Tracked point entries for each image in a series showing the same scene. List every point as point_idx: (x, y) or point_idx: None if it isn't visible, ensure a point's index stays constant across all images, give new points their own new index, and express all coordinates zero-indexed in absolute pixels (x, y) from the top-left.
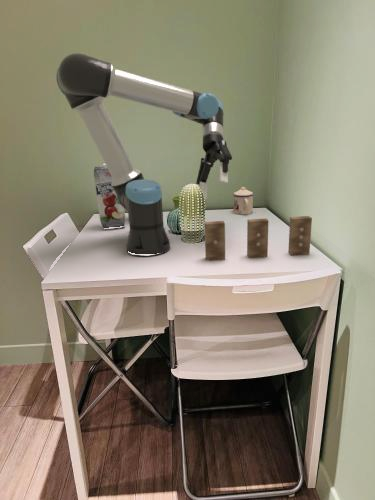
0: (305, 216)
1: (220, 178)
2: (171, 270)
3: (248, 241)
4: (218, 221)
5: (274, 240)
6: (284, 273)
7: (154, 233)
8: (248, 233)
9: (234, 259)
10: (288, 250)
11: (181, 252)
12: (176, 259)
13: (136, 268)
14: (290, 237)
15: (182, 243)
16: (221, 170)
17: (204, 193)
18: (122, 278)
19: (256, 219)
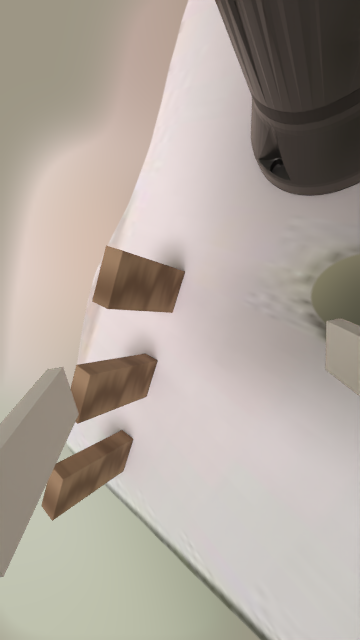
0: (53, 510)
1: (45, 377)
2: (160, 183)
3: (122, 359)
4: (109, 292)
5: (206, 490)
6: (80, 360)
7: (253, 101)
8: (108, 362)
9: (151, 324)
10: (129, 441)
11: (247, 223)
12: (207, 202)
13: (201, 102)
14: (98, 449)
15: (330, 244)
16: (2, 431)
17: (355, 370)
18: (168, 80)
19: (81, 395)
